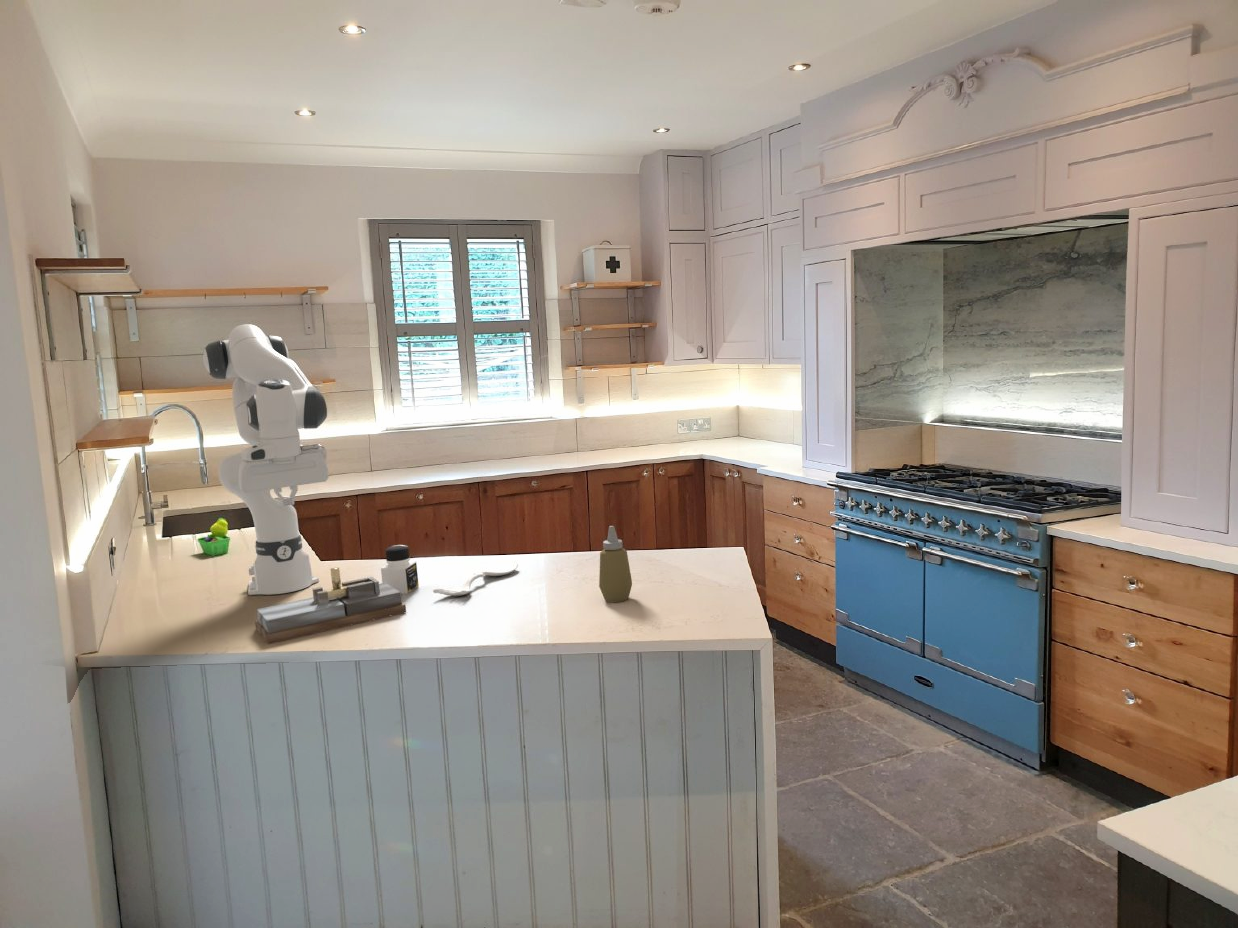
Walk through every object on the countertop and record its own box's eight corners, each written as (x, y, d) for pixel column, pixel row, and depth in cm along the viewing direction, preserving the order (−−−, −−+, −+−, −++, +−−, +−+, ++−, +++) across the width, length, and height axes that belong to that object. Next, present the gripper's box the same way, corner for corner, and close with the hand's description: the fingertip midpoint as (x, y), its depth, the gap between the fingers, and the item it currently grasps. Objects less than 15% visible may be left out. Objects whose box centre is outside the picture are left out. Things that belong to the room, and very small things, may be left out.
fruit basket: (198, 553, 305) (193, 520, 303) (224, 547, 311) (220, 515, 309) (209, 557, 296) (205, 524, 295) (236, 551, 302) (232, 519, 301)
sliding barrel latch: (256, 628, 212) (252, 596, 211) (387, 600, 229) (384, 570, 228) (268, 643, 201) (264, 609, 200) (406, 612, 218) (402, 580, 216)
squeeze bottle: (611, 606, 211) (605, 531, 209) (593, 599, 218) (588, 526, 215) (639, 599, 215) (634, 525, 213) (621, 592, 222) (617, 521, 220)
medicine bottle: (408, 594, 234) (403, 549, 233) (383, 594, 235) (378, 550, 234) (419, 586, 241) (414, 542, 239) (394, 586, 242) (389, 543, 241)
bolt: (324, 598, 215) (321, 570, 214) (365, 589, 220) (362, 562, 219) (326, 600, 213) (323, 571, 212) (368, 591, 218) (365, 563, 217)
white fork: (432, 601, 226) (431, 588, 226) (496, 568, 256) (495, 557, 255) (463, 603, 223) (462, 590, 222) (524, 569, 252) (523, 558, 252)
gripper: (322, 441, 221) (327, 496, 224) (233, 452, 211) (240, 509, 213) (328, 444, 216) (334, 500, 218) (238, 455, 205) (245, 513, 208)
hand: (287, 505), depth 216 cm, fingers closed
